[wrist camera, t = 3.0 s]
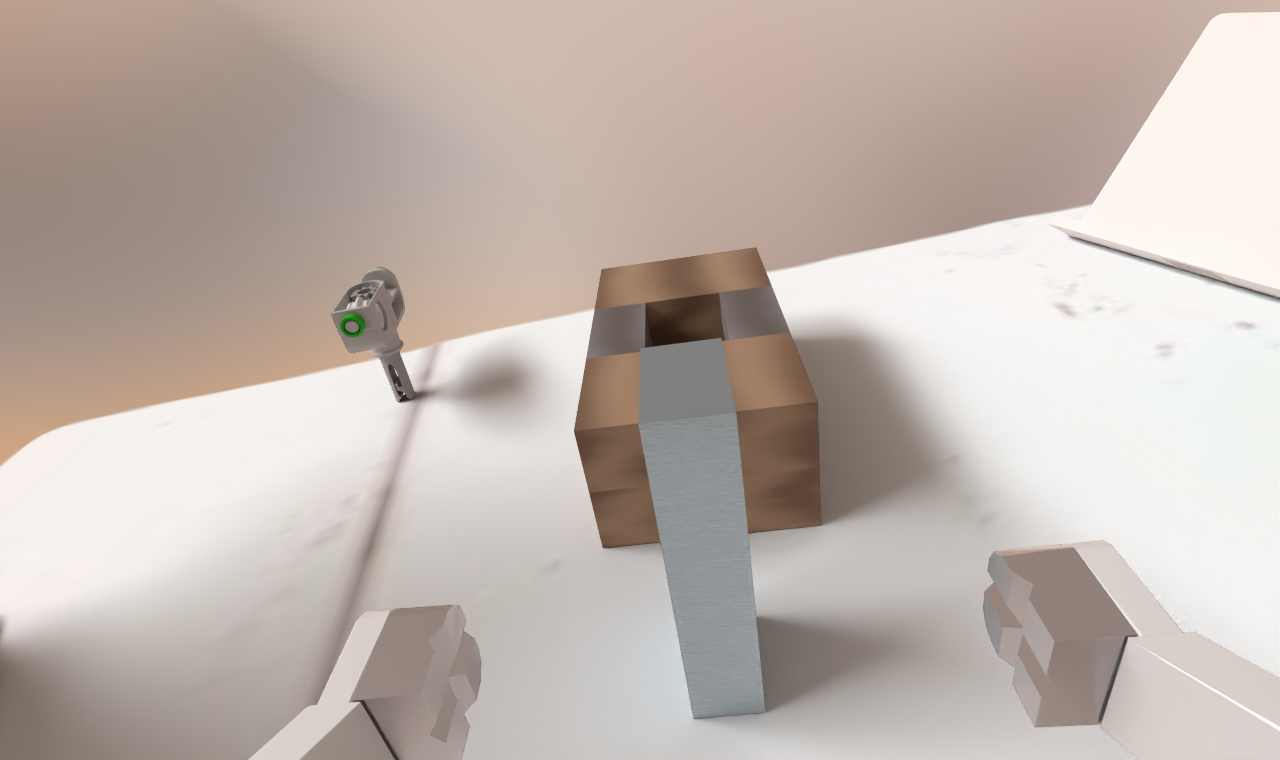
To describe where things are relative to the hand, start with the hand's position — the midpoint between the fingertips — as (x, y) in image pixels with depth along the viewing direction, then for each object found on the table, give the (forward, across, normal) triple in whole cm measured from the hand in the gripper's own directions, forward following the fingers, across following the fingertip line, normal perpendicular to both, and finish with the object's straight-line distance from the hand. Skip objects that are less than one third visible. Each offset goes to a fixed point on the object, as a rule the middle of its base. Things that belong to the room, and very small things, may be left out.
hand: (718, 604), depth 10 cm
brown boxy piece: (+31, -1, -18) cm, 36 cm away
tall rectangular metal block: (+12, -1, -18) cm, 22 cm away
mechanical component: (+40, -25, -18) cm, 51 cm away
